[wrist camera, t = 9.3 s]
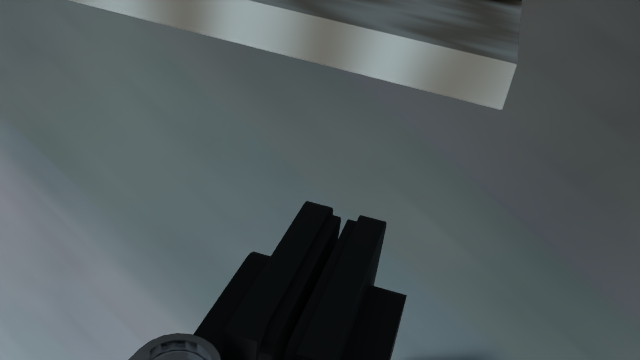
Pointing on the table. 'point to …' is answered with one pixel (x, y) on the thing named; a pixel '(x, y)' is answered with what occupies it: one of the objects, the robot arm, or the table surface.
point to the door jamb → (366, 37)
